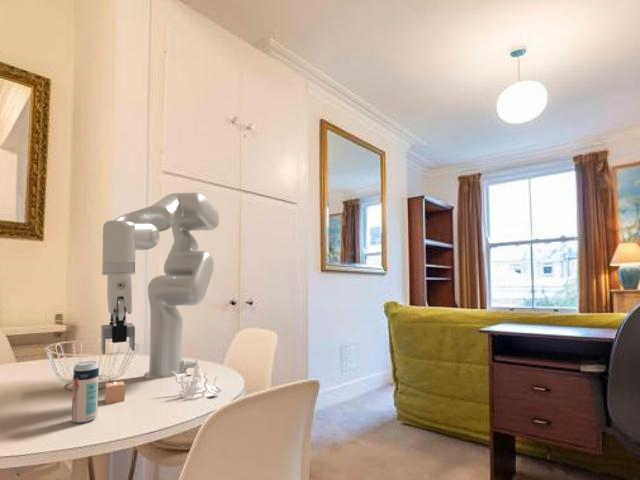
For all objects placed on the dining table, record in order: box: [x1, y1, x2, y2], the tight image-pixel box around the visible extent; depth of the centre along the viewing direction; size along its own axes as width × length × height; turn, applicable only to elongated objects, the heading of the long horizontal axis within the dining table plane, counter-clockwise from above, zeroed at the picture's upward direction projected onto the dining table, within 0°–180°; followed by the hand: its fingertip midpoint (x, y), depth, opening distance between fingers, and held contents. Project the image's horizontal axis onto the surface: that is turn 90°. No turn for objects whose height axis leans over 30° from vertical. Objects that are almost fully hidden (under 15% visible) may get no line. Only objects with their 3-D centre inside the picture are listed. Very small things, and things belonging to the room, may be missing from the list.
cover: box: [100, 322, 136, 355], centre depth 102 cm, size 7×7×6 cm
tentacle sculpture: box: [171, 357, 222, 399], centre depth 106 cm, size 9×12×9 cm
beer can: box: [71, 361, 100, 424], centre depth 88 cm, size 5×5×12 cm
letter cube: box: [104, 380, 126, 405], centre depth 101 cm, size 4×4×4 cm
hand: (117, 338), depth 102 cm, fingers closed on cover, 7 cm apart
